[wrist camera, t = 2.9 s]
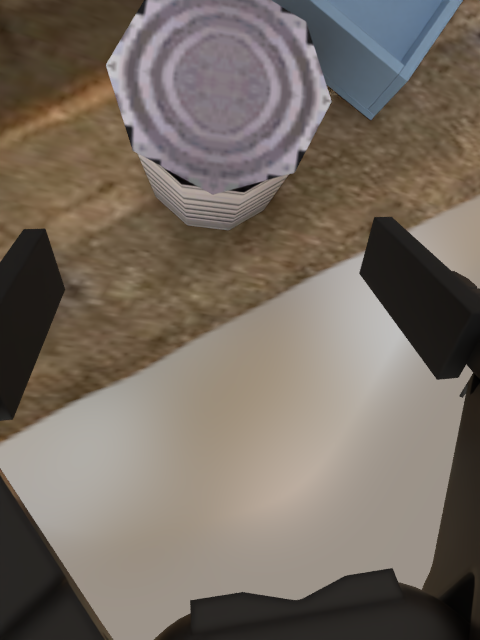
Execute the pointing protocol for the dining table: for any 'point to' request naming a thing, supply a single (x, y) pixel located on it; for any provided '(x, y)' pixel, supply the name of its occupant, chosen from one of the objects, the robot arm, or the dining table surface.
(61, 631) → the robot arm
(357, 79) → the tote
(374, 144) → the dining table surface
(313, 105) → the can
